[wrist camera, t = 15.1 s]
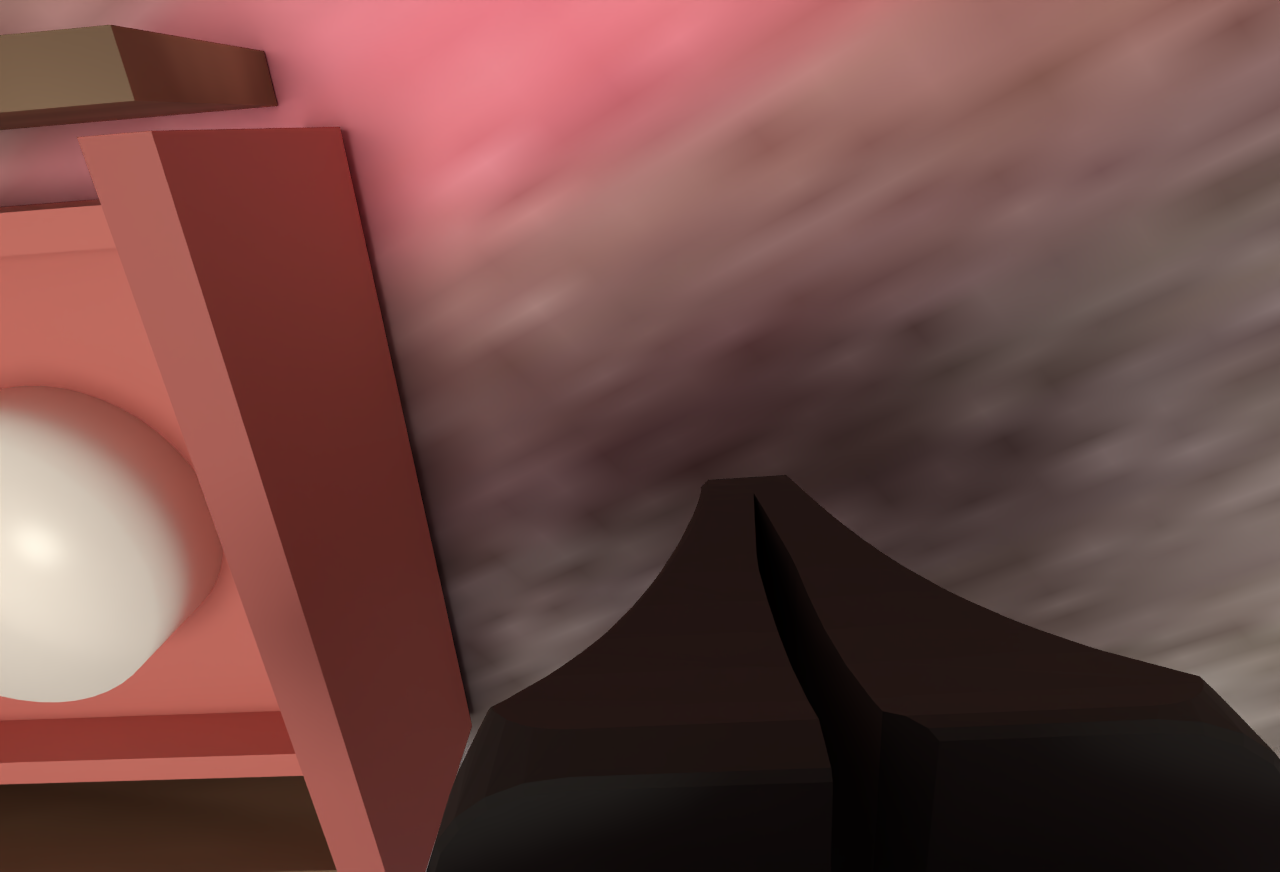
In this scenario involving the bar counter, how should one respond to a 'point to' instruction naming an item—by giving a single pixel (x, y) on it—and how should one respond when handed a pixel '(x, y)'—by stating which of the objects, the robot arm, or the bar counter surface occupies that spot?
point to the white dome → (92, 544)
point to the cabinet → (145, 809)
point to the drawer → (250, 481)
